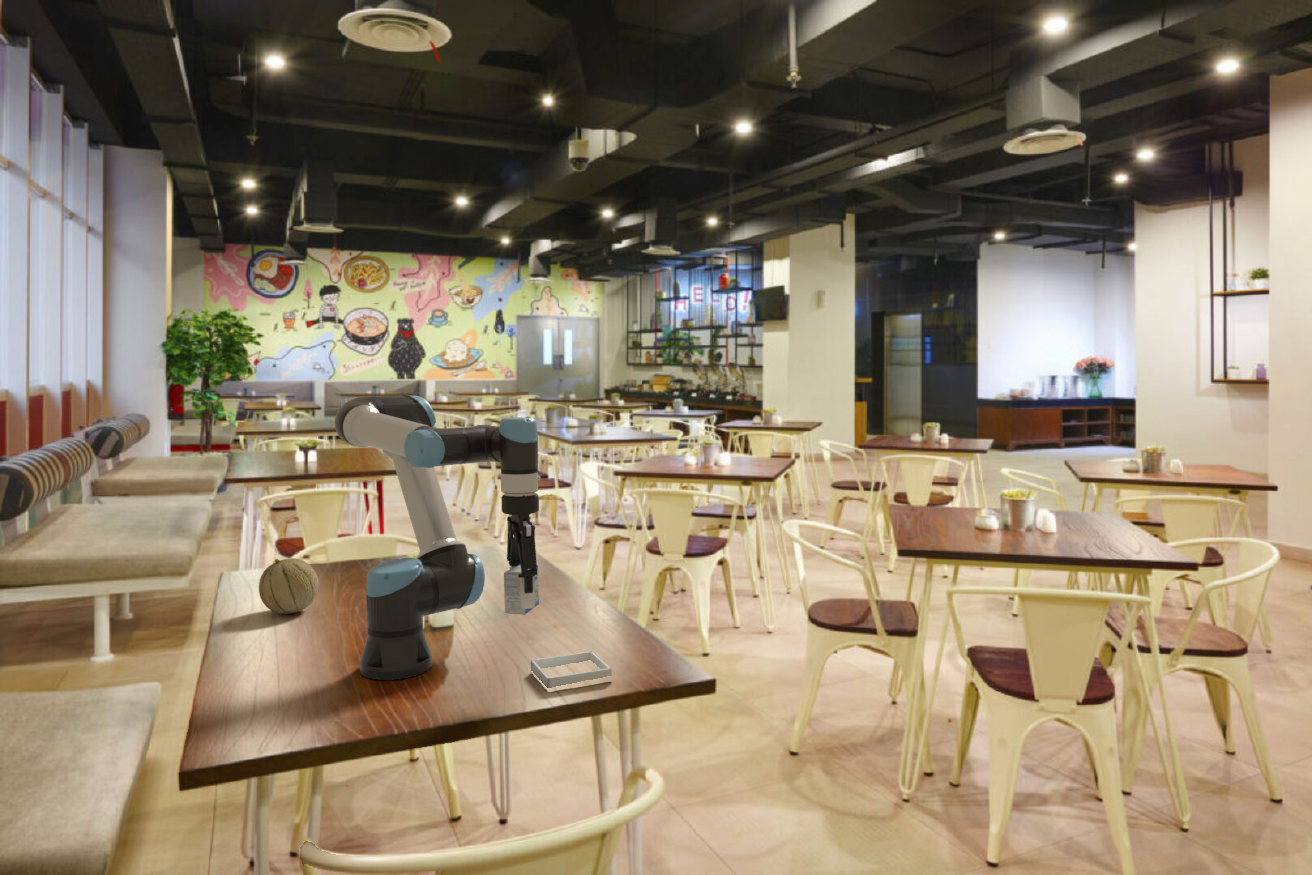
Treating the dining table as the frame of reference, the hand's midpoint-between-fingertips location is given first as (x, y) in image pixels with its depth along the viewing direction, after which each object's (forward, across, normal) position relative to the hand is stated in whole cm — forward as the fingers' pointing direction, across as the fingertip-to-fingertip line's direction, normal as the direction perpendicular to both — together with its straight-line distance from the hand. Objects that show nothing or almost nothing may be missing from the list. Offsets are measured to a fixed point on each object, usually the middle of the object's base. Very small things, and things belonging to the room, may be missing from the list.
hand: (522, 602), depth 176 cm
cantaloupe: (+16, +75, +46) cm, 89 cm away
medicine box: (+2, 0, 0) cm, 2 cm away
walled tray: (+18, +1, -10) cm, 21 cm away
